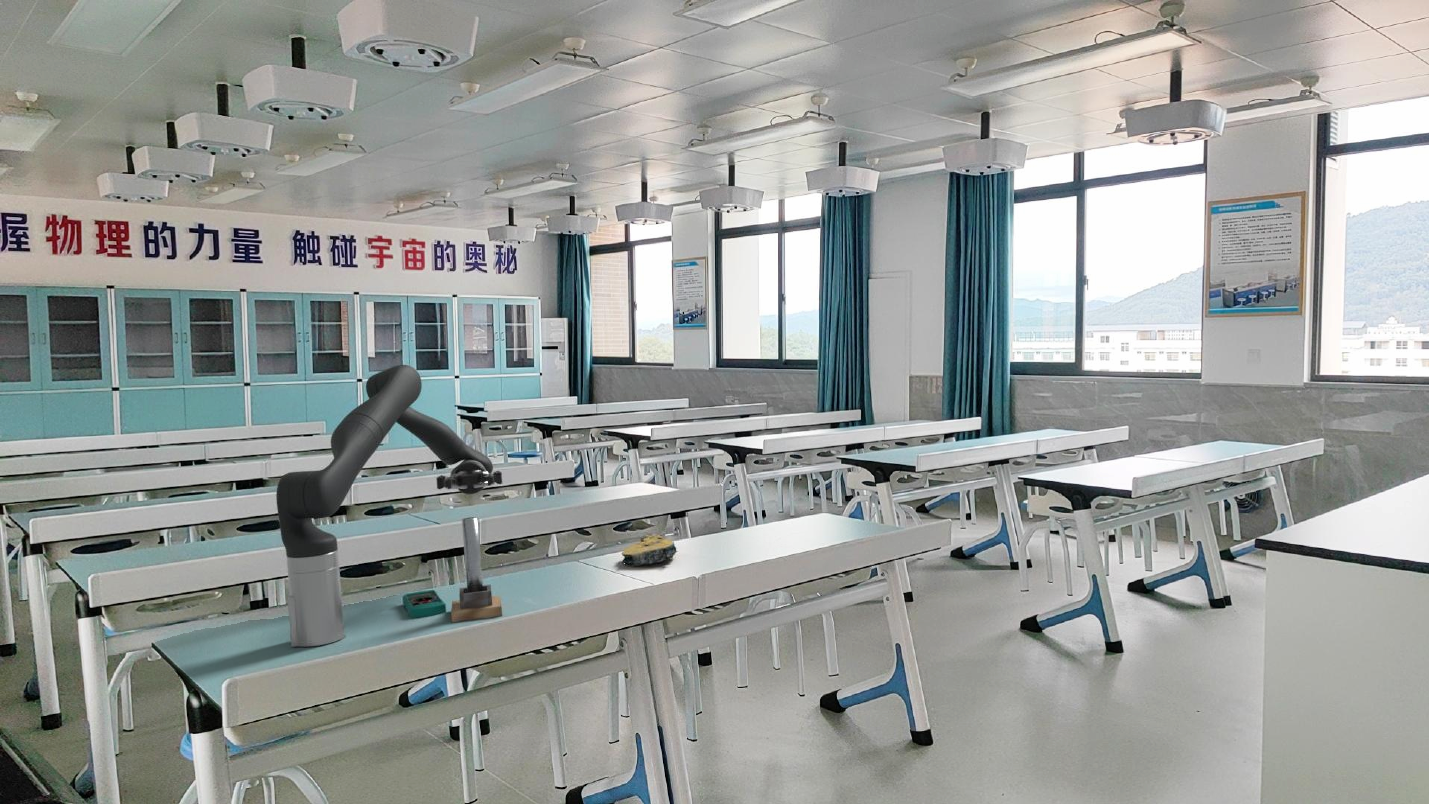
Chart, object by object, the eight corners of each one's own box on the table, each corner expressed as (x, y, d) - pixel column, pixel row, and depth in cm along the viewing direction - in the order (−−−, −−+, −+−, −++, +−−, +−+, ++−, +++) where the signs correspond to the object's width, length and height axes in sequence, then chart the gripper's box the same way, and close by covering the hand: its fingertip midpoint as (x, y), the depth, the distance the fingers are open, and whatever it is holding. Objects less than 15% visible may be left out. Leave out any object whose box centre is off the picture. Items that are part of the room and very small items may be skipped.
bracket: (451, 622, 191) (450, 597, 190) (452, 610, 200) (451, 587, 200) (502, 615, 193) (500, 591, 193) (500, 604, 203) (499, 581, 203)
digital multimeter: (411, 621, 196) (410, 607, 195) (402, 606, 209) (401, 593, 209) (447, 615, 199) (446, 601, 199) (436, 600, 212) (435, 588, 212)
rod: (468, 606, 195) (461, 520, 194) (468, 602, 198) (462, 518, 197) (484, 604, 196) (477, 518, 195) (483, 600, 199) (477, 516, 198)
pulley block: (682, 521, 258) (668, 543, 228) (687, 541, 258) (673, 566, 228) (633, 531, 259) (612, 554, 229) (637, 552, 259) (617, 577, 229)
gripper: (438, 463, 220) (434, 468, 204) (500, 458, 223) (501, 462, 207) (440, 495, 220) (436, 502, 204) (502, 489, 223) (503, 496, 208)
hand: (469, 482), depth 206 cm, fingers open, 8 cm apart
